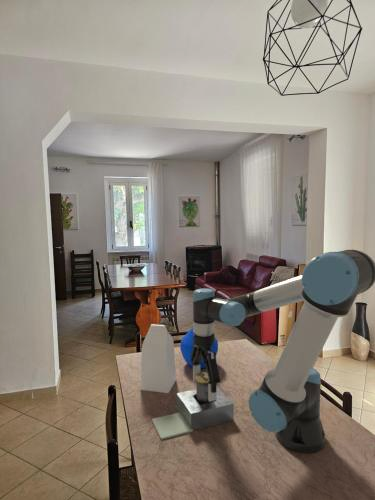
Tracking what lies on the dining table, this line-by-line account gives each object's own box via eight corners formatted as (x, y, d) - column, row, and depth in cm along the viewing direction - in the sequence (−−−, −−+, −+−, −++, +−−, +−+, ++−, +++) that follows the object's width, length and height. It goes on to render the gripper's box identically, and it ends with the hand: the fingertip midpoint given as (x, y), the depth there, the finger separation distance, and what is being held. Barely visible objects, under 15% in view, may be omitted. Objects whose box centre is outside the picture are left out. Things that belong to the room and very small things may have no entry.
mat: (193, 431, 109) (193, 429, 109) (161, 439, 105) (161, 438, 105) (181, 413, 119) (181, 411, 119) (151, 420, 115) (151, 418, 115)
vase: (186, 374, 149) (185, 310, 146) (176, 358, 166) (175, 300, 164) (223, 369, 154) (223, 307, 151) (210, 354, 171) (210, 298, 169)
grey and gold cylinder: (216, 417, 117) (216, 378, 115) (199, 421, 114) (199, 382, 113) (208, 407, 123) (208, 370, 122) (192, 411, 120) (192, 373, 119)
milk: (140, 389, 136) (139, 328, 134) (150, 377, 147) (149, 320, 145) (168, 393, 133) (167, 330, 131) (176, 379, 144) (175, 321, 142)
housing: (233, 419, 115) (233, 403, 114) (191, 430, 109) (190, 413, 109) (215, 399, 128) (215, 385, 127) (176, 408, 122) (176, 393, 122)
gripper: (230, 343, 106) (230, 406, 108) (199, 321, 129) (199, 373, 131) (209, 347, 103) (209, 411, 105) (181, 323, 126) (182, 377, 128)
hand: (204, 390), depth 118 cm, fingers open, 13 cm apart
